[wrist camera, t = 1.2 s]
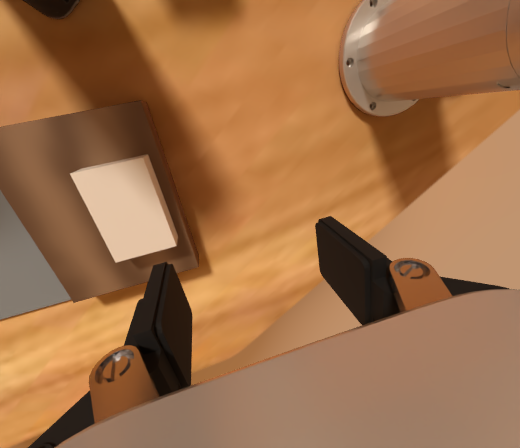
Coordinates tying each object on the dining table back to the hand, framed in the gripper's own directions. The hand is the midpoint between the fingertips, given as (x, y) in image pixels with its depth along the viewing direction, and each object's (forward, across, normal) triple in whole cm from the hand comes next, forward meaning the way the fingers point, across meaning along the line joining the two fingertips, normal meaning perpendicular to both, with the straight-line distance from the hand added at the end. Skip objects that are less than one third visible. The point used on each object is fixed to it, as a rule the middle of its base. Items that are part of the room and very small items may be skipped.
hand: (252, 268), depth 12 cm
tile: (+15, +9, 0) cm, 18 cm away
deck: (+20, +12, 0) cm, 23 cm away
